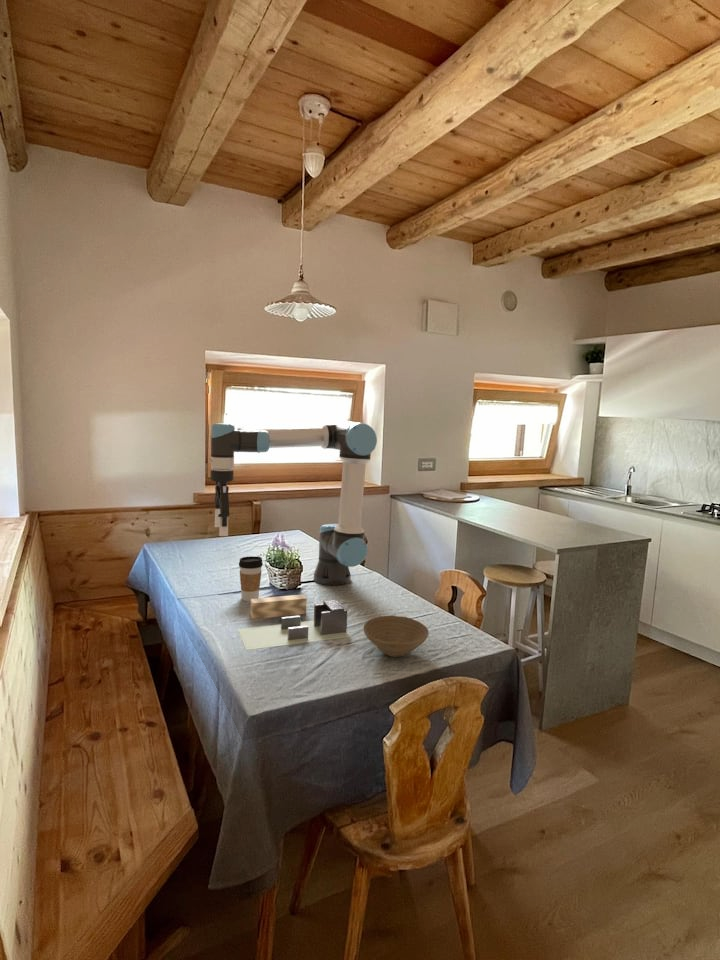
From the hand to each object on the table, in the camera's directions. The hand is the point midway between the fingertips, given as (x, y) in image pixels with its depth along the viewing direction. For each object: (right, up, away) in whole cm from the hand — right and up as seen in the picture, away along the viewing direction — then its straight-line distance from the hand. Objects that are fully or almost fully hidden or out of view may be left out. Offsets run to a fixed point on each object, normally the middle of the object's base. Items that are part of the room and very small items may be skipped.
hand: (221, 531), depth 181 cm
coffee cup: (+8, -25, +10) cm, 28 cm away
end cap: (+37, -29, -14) cm, 50 cm away
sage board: (+27, -30, -18) cm, 44 cm away
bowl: (+57, -33, -28) cm, 72 cm away
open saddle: (+27, -29, -18) cm, 44 cm away
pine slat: (+20, -28, -4) cm, 35 cm away
